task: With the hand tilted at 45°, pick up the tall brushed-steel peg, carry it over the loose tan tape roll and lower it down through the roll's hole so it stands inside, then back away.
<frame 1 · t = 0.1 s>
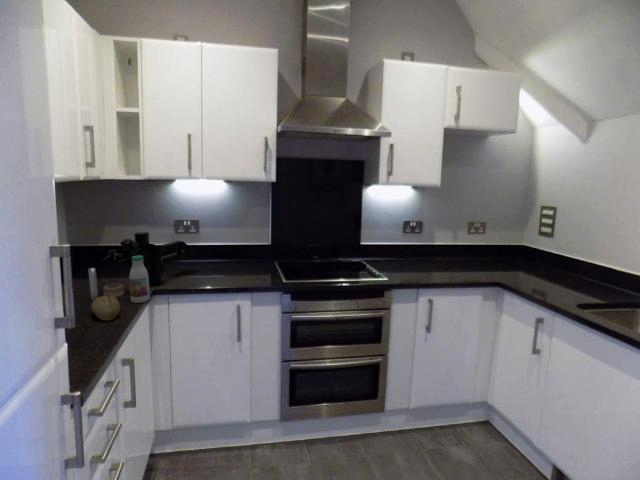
hand: (109, 262, 177), 17 cm above the worktop, tool horizontal, fingers open, 9 cm apart
steel peg: (94, 299, 179), on the worktop
milk bottle: (140, 300, 179), on the worktop
tan tape roll: (114, 294, 186), on the worktop
bread roll: (106, 316, 160), on the worktop
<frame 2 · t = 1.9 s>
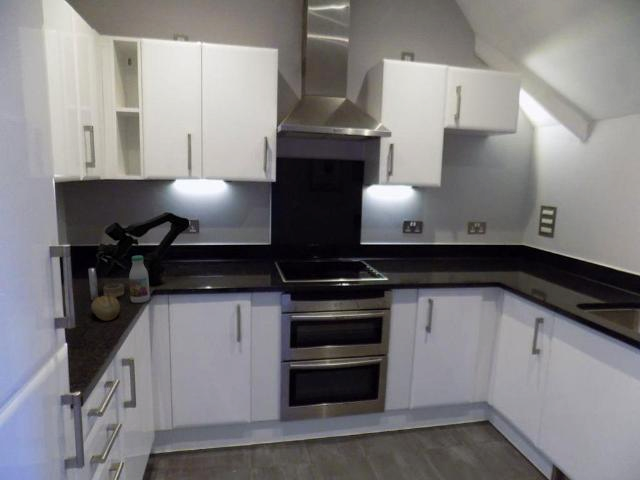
hand: (100, 274, 180), 10 cm above the worktop, tool tilted 45°, fingers open, 9 cm apart
nothing on the worktop moved.
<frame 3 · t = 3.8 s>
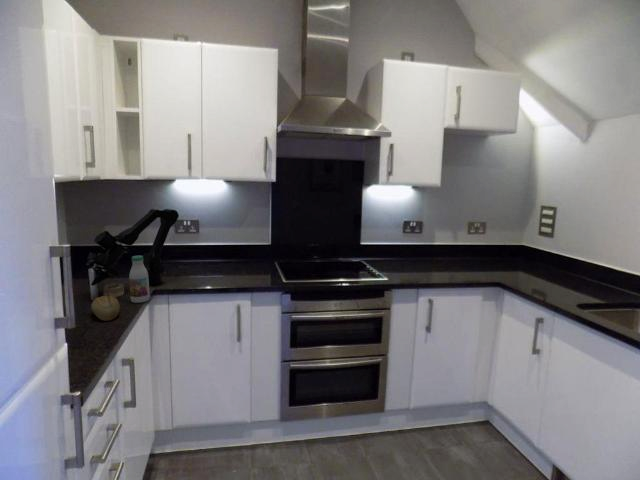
hand: (90, 284, 177), 7 cm above the worktop, tool tilted 45°, fingers closed on steel peg, 3 cm apart
steel peg: (94, 299, 179), on the worktop, touching gripper
everything else where it was.
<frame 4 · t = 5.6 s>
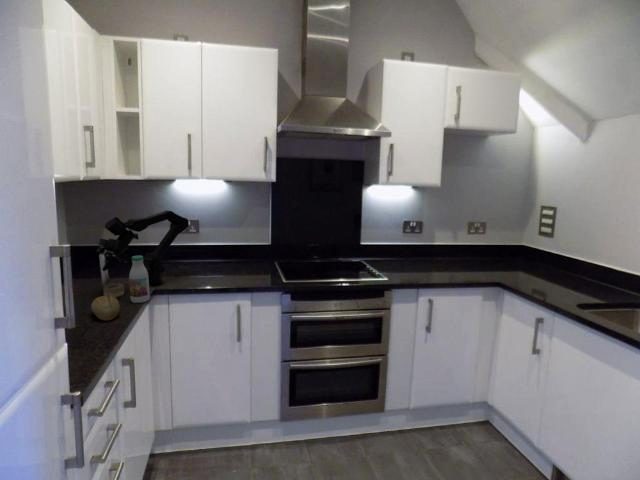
hand: (101, 270, 180), 13 cm above the worktop, tool tilted 45°, fingers closed on steel peg, 3 cm apart
steel peg: (105, 284, 182), point 6 cm above the worktop, touching gripper
everything else where it was.
when the fingers open (8 cm above the worktop, at t = 7.4 s): steel peg stays where it is, resting in tan tape roll.
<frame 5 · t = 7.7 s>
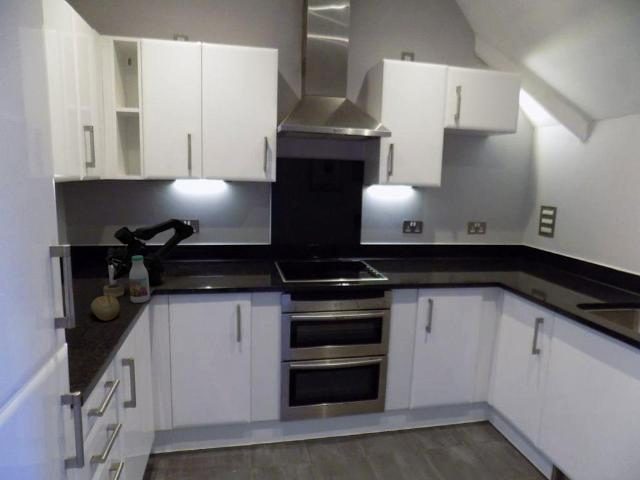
hand: (109, 278, 183), 8 cm above the worktop, tool tilted 45°, fingers open, 6 cm apart
steel peg: (114, 294, 186), resting in tan tape roll
everything else where it was.
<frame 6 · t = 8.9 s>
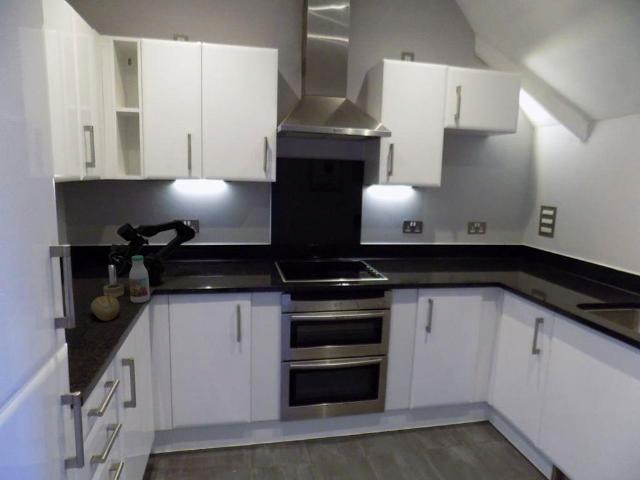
hand: (112, 274, 184), 9 cm above the worktop, tool tilted 45°, fingers open, 9 cm apart
nothing on the worktop moved.
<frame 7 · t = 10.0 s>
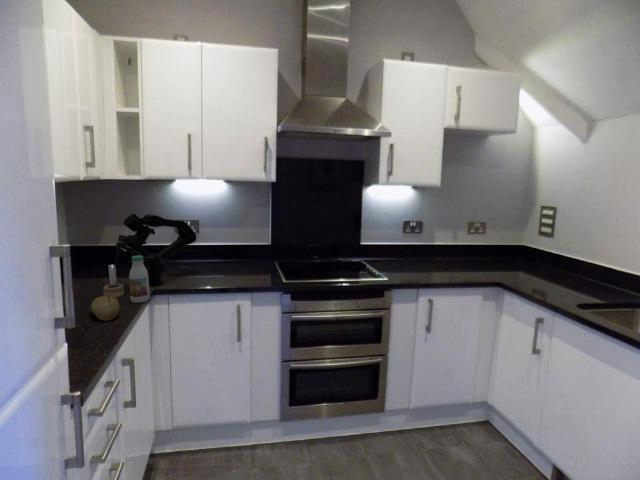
hand: (121, 265, 187), 13 cm above the worktop, tool tilted 40°, fingers open, 9 cm apart
nothing on the worktop moved.
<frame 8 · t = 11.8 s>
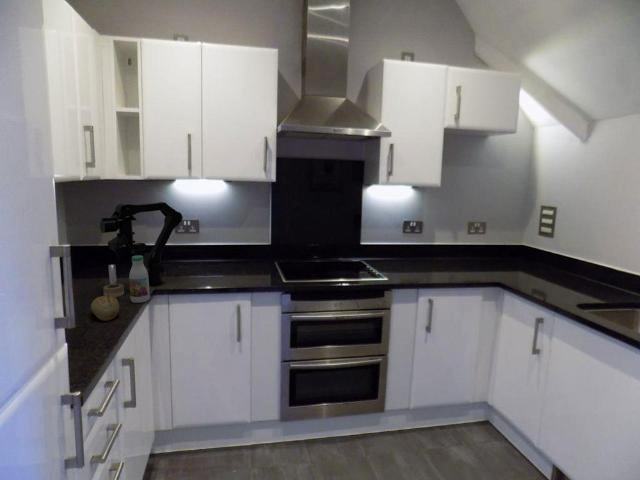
hand: (128, 263, 191), 13 cm above the worktop, tool pointing down, fingers open, 9 cm apart
nothing on the worktop moved.
at the end: steel peg 0.0 cm from the tan tape roll (horizontally); steel peg resting in tan tape roll; steel peg tilted 0° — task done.
